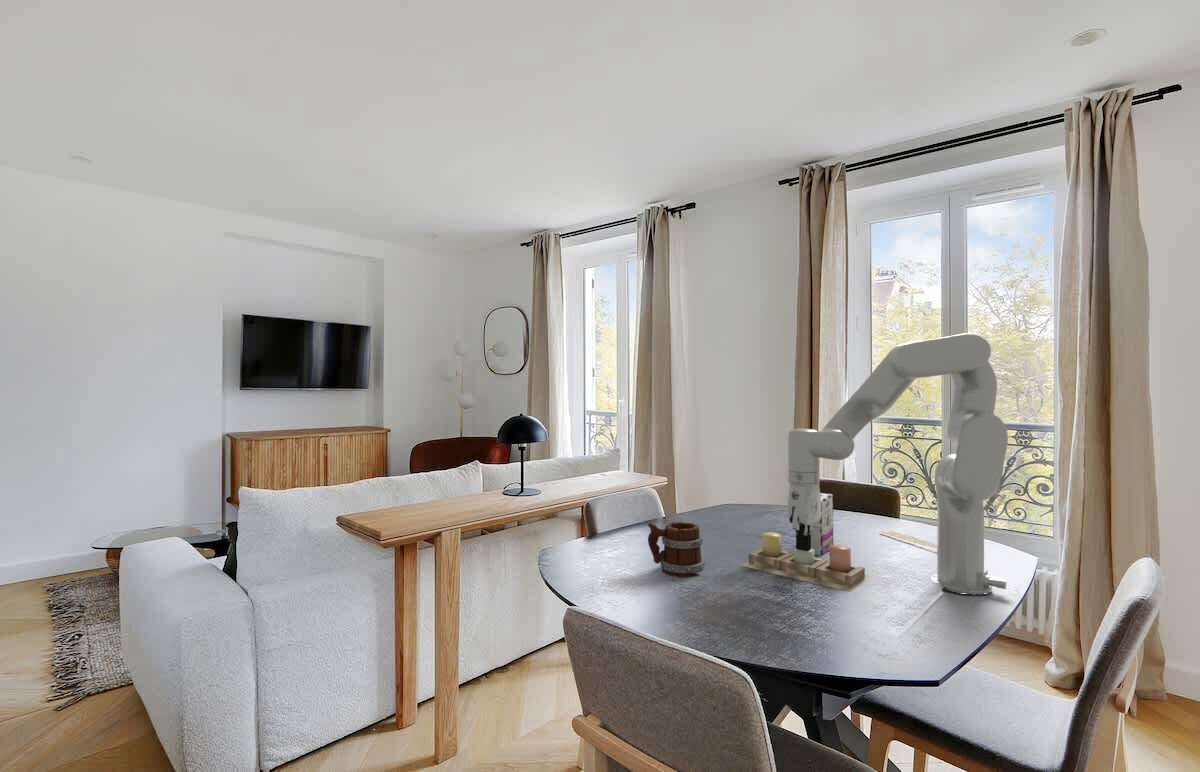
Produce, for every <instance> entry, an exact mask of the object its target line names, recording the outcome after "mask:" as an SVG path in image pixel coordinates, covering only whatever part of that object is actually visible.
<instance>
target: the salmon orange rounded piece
mask: <svg viewBox="0 0 1200 772" xmlns="http://www.w3.org/2000/svg"><path fill="white" fill-rule="evenodd" d="M851 551H852V549H851V547H850V546H848V545H843V544H842V545H841V544H833V545H831V546H829V552H828V553H829V556H828V557H829V559H828V561H829V567H830V568H831V569H833V570H837V571H850V570H851V565H852V563H851V562H852V557H851V556H852V552H851Z"/></svg>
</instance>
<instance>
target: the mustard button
mask: <svg viewBox="0 0 1200 772" xmlns="http://www.w3.org/2000/svg"><path fill="white" fill-rule="evenodd" d="M761 548H762V554H764V555H767V556H780V555H781V551H782V535H781V534H780V533H777V532H770V531H769V532H763V533H761Z"/></svg>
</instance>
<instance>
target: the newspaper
mask: <svg viewBox="0 0 1200 772" xmlns="http://www.w3.org/2000/svg"><path fill="white" fill-rule="evenodd" d="M880 532H881V533H884V534H887V535H890V536H894V537H897V538H900V539H904V540H908V541H911V542H914V543H918V544H921V545H924V546H929V547H933V548H934V547H935V548H937V544H936V543H933V544H932V542H929V541H926V540H923V539H920V538H917V537H914V536H910V535H908V534H905V533H901V532H898V531H894V530H892V529H885V530H882V531H880ZM935 544H936V545H935Z"/></svg>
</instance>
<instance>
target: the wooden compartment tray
mask: <svg viewBox="0 0 1200 772" xmlns="http://www.w3.org/2000/svg"><path fill="white" fill-rule="evenodd" d="M741 567H745V568H749V569H754V570H759V571H762V572H766V573H770V574H773V575H779V576H783V577H787V578H792V579H796V580H800V581H805V582H808V583H812V584H817V585H821V586H826V587H829V588H834V589H838V590H843V591H846V592H851V591H853V590H854V589H856V588H857V587H859V586H861V584H863V583H864V582H866V581H867V580H869V579H870V578H871V577H872V575H867V574H865V573H866V571H865V570H866V569H865V568H866V567H865V566H864V567H863V566H858V565H855V564H854V565H853V564H851V570H850V571H837V570H833V569H831V568H830V567H829V559H824V558H820V557H816V556H814V564H812V565H806V564H802V563H797V562H794V552H790V551H786V550H785V551H784V550H781V555H780V556H767V555H764V554H762V547H761V548H759V549H756V550H754V551H752V552H750V553H748V562H745V563H744V564H741Z"/></svg>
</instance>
